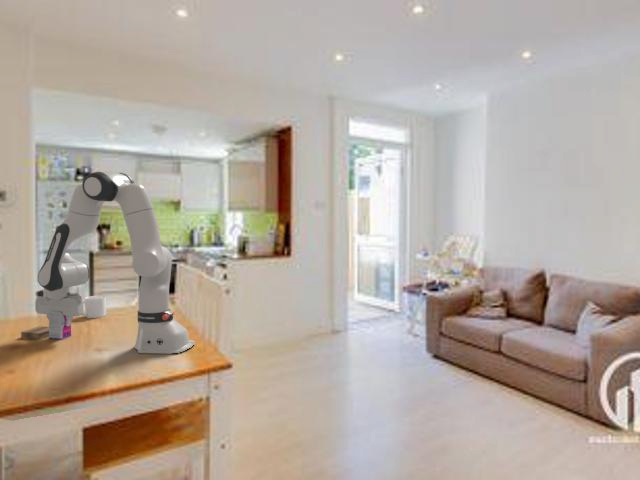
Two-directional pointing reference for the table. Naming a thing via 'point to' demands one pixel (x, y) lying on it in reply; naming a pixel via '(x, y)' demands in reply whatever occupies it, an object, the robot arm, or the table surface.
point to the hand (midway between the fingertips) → (60, 325)
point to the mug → (95, 306)
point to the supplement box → (58, 326)
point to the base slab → (36, 333)
